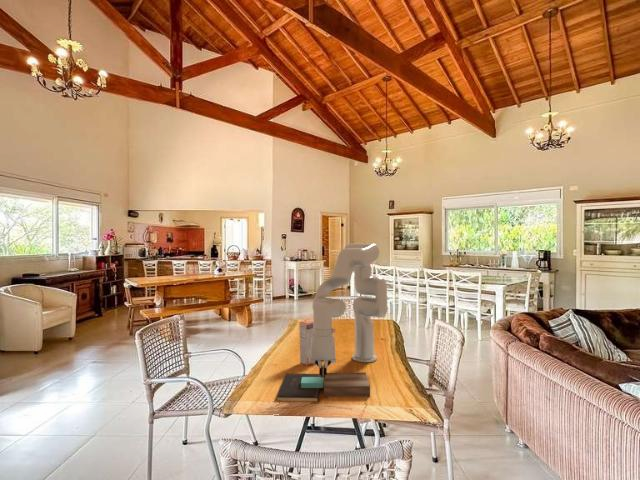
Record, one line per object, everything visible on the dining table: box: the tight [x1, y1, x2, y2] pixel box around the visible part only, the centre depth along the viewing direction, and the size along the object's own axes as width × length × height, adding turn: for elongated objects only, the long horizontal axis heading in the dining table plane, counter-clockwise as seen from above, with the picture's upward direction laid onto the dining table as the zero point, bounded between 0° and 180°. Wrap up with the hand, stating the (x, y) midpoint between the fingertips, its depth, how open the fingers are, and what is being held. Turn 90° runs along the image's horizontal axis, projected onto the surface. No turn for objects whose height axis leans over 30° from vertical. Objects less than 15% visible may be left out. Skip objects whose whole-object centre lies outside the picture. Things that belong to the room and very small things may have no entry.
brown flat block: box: [323, 371, 371, 398], centre depth 145 cm, size 14×18×4 cm
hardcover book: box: [276, 372, 321, 402], centre depth 146 cm, size 16×23×2 cm
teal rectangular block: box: [301, 377, 324, 389], centre depth 145 cm, size 6×9×2 cm, turn 88°
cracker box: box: [298, 318, 315, 366], centre depth 178 cm, size 14×6×21 cm, turn 135°
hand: (323, 376), depth 145 cm, fingers closed
